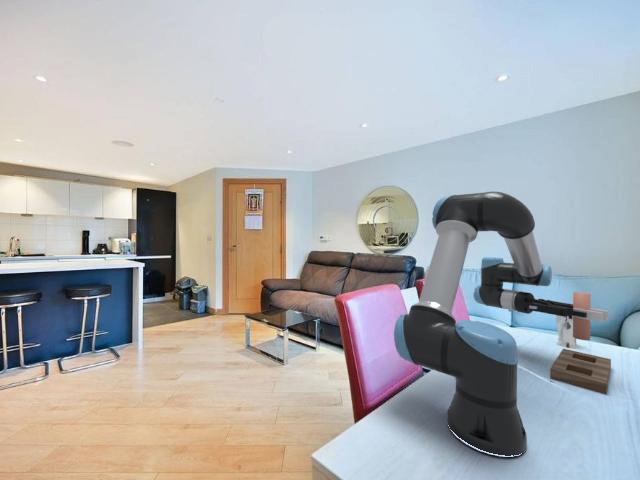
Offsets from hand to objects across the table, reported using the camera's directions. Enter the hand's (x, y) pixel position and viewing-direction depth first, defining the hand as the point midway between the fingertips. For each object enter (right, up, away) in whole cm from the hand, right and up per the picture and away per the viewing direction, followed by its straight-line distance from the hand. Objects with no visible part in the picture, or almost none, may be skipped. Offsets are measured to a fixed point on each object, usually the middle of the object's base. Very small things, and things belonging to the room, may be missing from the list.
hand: (605, 316), depth 84 cm
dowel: (-3, -8, +5) cm, 10 cm away
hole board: (-2, -20, +6) cm, 21 cm away
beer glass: (+15, -21, +30) cm, 39 cm away
